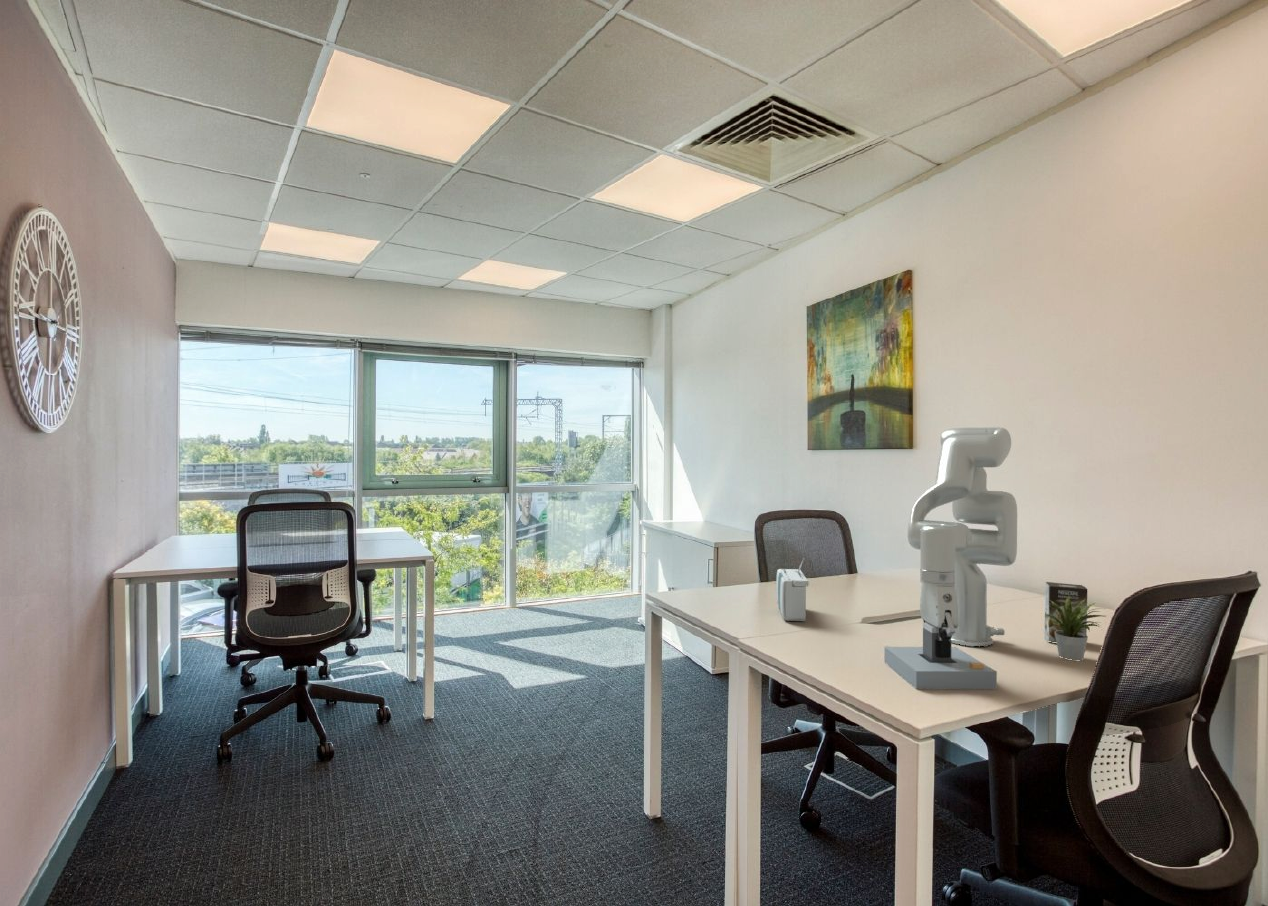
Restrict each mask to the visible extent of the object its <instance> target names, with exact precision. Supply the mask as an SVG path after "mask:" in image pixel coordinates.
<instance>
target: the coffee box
mask: <svg viewBox="0 0 1268 906" xmlns="http://www.w3.org/2000/svg"><path fill="white" fill-rule="evenodd" d="M1068 594H1069V597H1070V601H1071V604H1072V612H1073V611H1074V609H1075V608H1076V606H1077V605H1078V604H1079V603H1080V602H1081V601H1082V600H1084V599H1085V598H1086V599H1085V601H1084V602H1083V604H1082V605H1081V607H1080V608H1082V609H1083V608H1084V607H1086V606H1087V605H1088V588H1087V587H1086V586H1084V585H1082V584H1072V583H1062V582H1051V581H1046V582H1045V595H1044V597H1045V598H1044V599H1045V600H1044V635H1045V637H1046V639H1047V640H1048V641H1051V642H1056V637H1055V631H1058V630H1062V628H1061V627H1060V626H1053V625H1054V624H1053V621H1056V620H1054V619H1053V618H1051V617H1048V616H1046V614H1050V615H1053V616H1055V617H1056V618H1057V619H1059V621H1060V622H1061V623H1062V621H1061V620H1062V619H1060V618H1061V616H1060V614H1059V612H1058V610H1057V609H1056V608H1055V606H1053V605H1052V603H1051V601H1053V602H1054V603H1055V604H1057V606H1058V607H1059V608H1060V609H1061V610H1062V611H1063V614H1064V616H1065V613H1064V610H1065V609H1064V607H1063V605H1064V606H1065V602H1066V599H1067V598H1068ZM1050 600H1051V601H1050ZM1056 600H1057V601H1056ZM1059 601H1060V602H1061V603H1063V605H1062V604H1061V603H1060V602H1059ZM1048 604H1049V605H1050V606H1049V605H1048ZM1052 608H1053V609H1054V610H1055V611H1056V612H1057V613H1058V614H1057V613H1056V612H1055V611H1054V610H1053V609H1052ZM1082 609H1081V610H1082ZM1087 611H1088V610H1087ZM1087 611H1086V612H1087ZM1086 612H1085V614H1083V615H1082V616H1086V615H1087V614H1088V612H1087V613H1086ZM1058 615H1059V616H1060V617H1059V616H1058ZM1082 616H1081V617H1082ZM1086 621H1088V619H1085V620H1083V621H1082V623H1083V622H1086ZM1056 622H1057V621H1056ZM1082 623H1081V624H1082ZM1052 624H1053V625H1052ZM1087 624H1088V623H1086V624H1084V625H1087ZM1055 625H1060V624H1055ZM1084 628H1085V627H1084ZM1084 628H1082V629H1083V630H1082V629H1081V630H1082V631H1081V630H1079V631H1078V632H1079V633H1083V634H1085V635H1087V636H1088V634H1087V630H1088V629H1087V628H1085V629H1084ZM1080 631H1081V632H1080ZM1045 637H1044V638H1045ZM1046 639H1045V640H1046ZM1047 640H1046V641H1047Z"/></svg>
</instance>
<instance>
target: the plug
mask: <svg viewBox="0 0 1268 906" xmlns="http://www.w3.org/2000/svg"><path fill="white" fill-rule="evenodd" d="M941 627H946V625H945V624H942V626H941ZM943 631H946V630H941V634H942V633H943ZM936 640H938V639H937V631H936V627H935V626H933V625H932V624H930V623H923V622H922V647H923V658H924V659H925V660H927V661H928V662H930V663H951V647H952V642H951V641H950V657H949V658H938V657H936Z"/></svg>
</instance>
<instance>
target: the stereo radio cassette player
mask: <svg viewBox="0 0 1268 906" xmlns="http://www.w3.org/2000/svg"><path fill="white" fill-rule="evenodd" d="M804 560H805V557H803V558H802V560H801V563H800V565H799V568H797V569H796V568H795V569H794V568H789V569H788V568H779V569H777V571H776V588H775V589H776V590H775V591H776V602H777V605H778V609H779V610H780V614H781V616H782V619H784V620H785V621H786V622H790V621H791V622H792V621H793V622H803V621H804V622H805V621H806V618H807V616H806V613H807V612H806V611H807V609H806V608H807V604H806V603H807V596H806V595H807V590H806V589H807V588H806V587H809V585H810V583H809V580H808V579H807V577H806V576H805V574H804V573H803V572H802V569H801V568H802V565H803V563H804Z"/></svg>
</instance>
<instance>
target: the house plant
mask: <svg viewBox="0 0 1268 906" xmlns="http://www.w3.org/2000/svg"><path fill="white" fill-rule="evenodd" d="M1085 599H1086V598H1085ZM1085 599H1084V600H1082V601H1081V602H1080V603H1079V604H1078V605H1077V606H1076V608H1075V609H1074V611H1073V612H1072V604H1071V601H1070V597H1069V594H1068V598H1067V599H1066V602H1065V606H1064V605H1063V603H1061V602H1060V601H1059V602H1060V603H1061V604H1062V605H1063V607H1064V609H1065V610H1064V613H1065V616H1064V614H1063V611H1062V610H1061V609H1060V608H1059V607H1058V606H1057V604H1055V603H1054V602H1053V601H1051V600H1050V601H1051V603H1052V605H1053V606H1055V608H1056V609H1057V610H1058V612H1059V614H1060V616H1061V618H1060V619H1062V620H1061V621H1062V623H1061V622H1060V621H1059V619H1057V618H1056V617H1055V616H1053V615H1050V614H1046V616H1048V617H1051V618H1053V619H1054V620H1056V621H1057V622H1056V621H1053V624H1054V625H1053V624H1052V625H1053V626H1060V627H1061V628H1062V630H1058V631H1055V637H1056V642H1057V643H1056V646H1057V652H1058V657H1059V656H1061V657H1063V658H1067V659H1072V660H1082V659H1083V660H1084V657H1085V652H1086V648H1087V641H1088V634H1087V635H1085V634H1083V633H1079V632H1078V631H1079V630H1081V629H1082V628H1084V627H1085V628H1087V630H1088V631H1089V632H1090V631H1091V630H1090V627H1093V626H1094V627H1098V628H1100V624H1098V621H1090V620H1088V619H1092V618H1096V617H1097V618H1098V617H1106V615H1101V614H1092V613H1095V612H1096V613H1097V612H1099V613H1100V612H1101V611H1100V610H1102V609H1103V610H1107V608H1103V607H1101V608H1097V610H1096V608H1092V609H1090V608H1091V607H1092V606H1094V605H1095V604H1096V602H1095V603H1089V604H1087V606H1086V607H1084V608H1083V609H1082V608H1080V607H1081V605H1082V604H1083V602H1084V601H1085ZM1056 601H1057V600H1056ZM1048 605H1049V604H1048ZM1049 606H1050V605H1049ZM1052 609H1053V608H1052ZM1081 609H1082V610H1081ZM1089 609H1090V610H1089ZM1053 610H1054V609H1053ZM1054 611H1055V610H1054ZM1086 611H1087V612H1086ZM1055 612H1056V611H1055ZM1085 612H1086V613H1087V615H1086V616H1082V615H1083V614H1085ZM1056 613H1057V612H1056ZM1057 614H1058V613H1057ZM1058 616H1059V615H1058ZM1060 616H1059V617H1060ZM1081 616H1082V617H1081ZM1085 619H1087V621H1086V622H1083V623H1082V621H1083V620H1085ZM1081 623H1082V624H1081ZM1086 623H1087V625H1084V624H1086ZM1055 624H1060V625H1055ZM1085 628H1084V629H1085ZM1082 630H1083V629H1082ZM1082 630H1081V631H1082ZM1081 631H1080V632H1081Z"/></svg>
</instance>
